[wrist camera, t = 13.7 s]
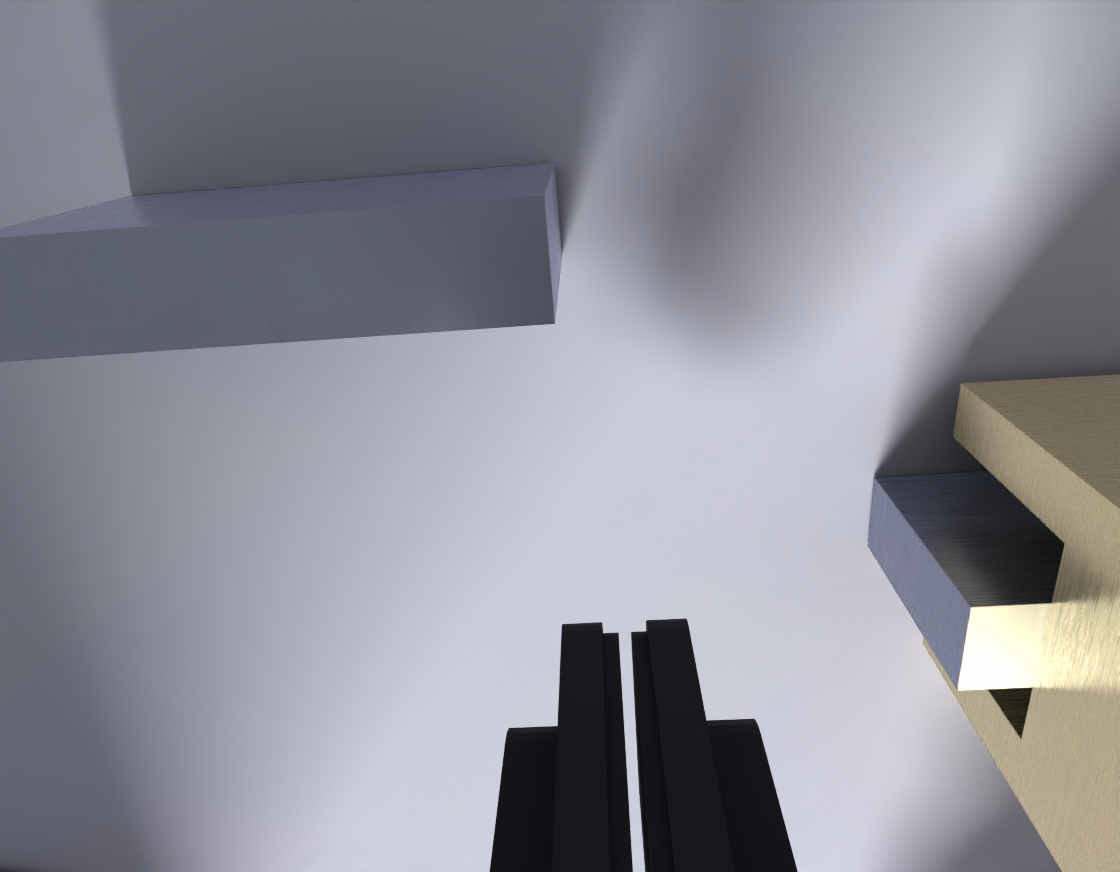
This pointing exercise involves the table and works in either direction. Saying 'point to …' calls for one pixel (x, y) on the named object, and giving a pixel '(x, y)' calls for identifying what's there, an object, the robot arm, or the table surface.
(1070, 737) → the tan box with knob
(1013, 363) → the table surface
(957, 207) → the table surface
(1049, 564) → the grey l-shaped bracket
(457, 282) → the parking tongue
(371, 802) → the table surface
